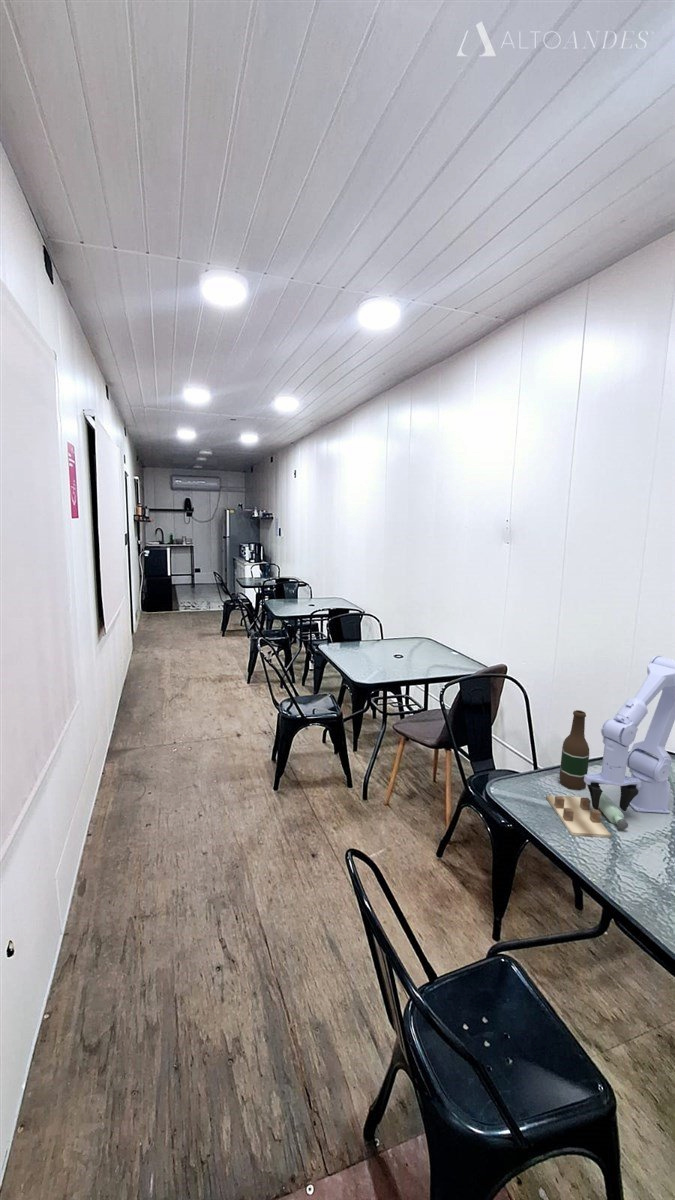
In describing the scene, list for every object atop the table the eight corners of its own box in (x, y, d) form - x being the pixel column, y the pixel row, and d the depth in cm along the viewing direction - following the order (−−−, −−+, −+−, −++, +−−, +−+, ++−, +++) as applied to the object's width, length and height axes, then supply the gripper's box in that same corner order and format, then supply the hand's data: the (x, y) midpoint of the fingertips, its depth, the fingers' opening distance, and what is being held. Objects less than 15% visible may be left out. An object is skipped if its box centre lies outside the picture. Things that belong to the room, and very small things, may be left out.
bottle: (606, 806, 140) (608, 793, 139) (630, 832, 127) (632, 818, 127) (592, 805, 140) (594, 792, 139) (614, 831, 127) (616, 817, 127)
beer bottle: (562, 775, 157) (569, 705, 153) (588, 783, 152) (596, 711, 148) (555, 784, 151) (562, 711, 147) (582, 793, 146) (590, 718, 142)
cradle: (580, 799, 142) (581, 788, 142) (610, 837, 125) (612, 824, 124) (545, 797, 143) (546, 786, 142) (571, 835, 125) (573, 822, 125)
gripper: (633, 757, 136) (627, 802, 138) (581, 754, 137) (576, 799, 139) (647, 769, 129) (641, 816, 131) (592, 766, 130) (587, 813, 132)
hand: (608, 808), depth 134 cm, fingers open, 7 cm apart
